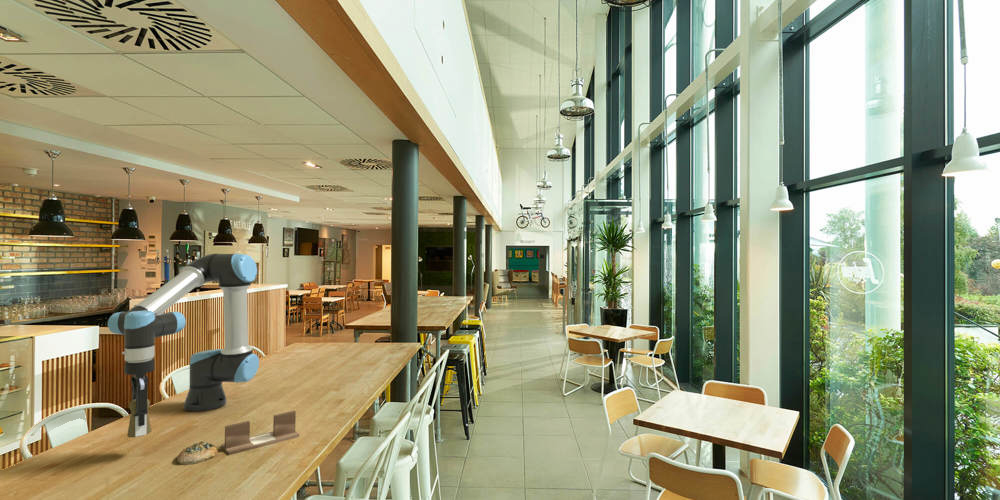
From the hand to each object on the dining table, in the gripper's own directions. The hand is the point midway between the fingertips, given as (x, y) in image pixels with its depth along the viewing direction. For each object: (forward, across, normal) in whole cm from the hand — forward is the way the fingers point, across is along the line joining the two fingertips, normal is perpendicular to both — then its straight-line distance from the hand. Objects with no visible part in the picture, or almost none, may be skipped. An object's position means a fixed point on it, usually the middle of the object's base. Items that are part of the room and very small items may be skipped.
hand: (139, 431), depth 144 cm
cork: (+1, 0, 0) cm, 1 cm away
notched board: (+7, +16, +31) cm, 36 cm away
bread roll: (+8, +15, +13) cm, 21 cm away
